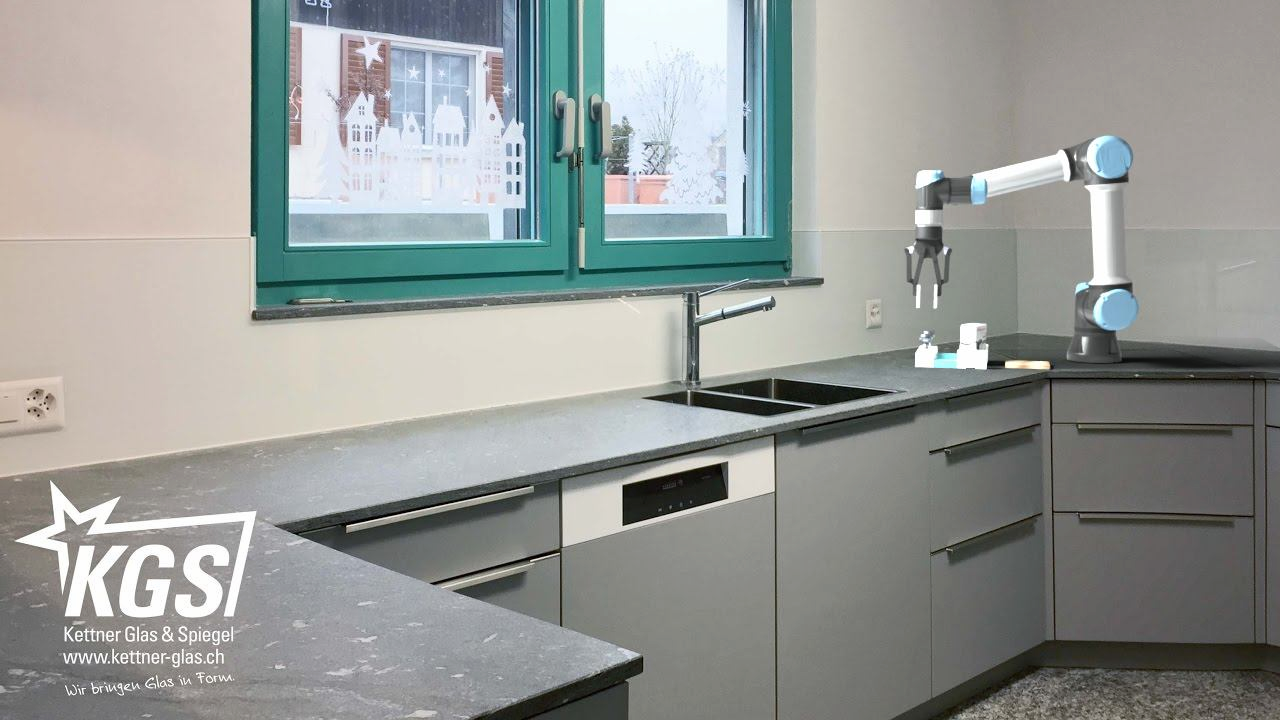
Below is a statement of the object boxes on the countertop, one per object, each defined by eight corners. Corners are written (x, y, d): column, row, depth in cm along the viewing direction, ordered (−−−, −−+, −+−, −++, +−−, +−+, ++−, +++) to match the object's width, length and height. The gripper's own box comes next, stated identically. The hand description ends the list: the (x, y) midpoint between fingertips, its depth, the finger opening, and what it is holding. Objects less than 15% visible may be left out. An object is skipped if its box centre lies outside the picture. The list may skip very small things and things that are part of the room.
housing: (987, 361, 357) (988, 344, 356) (986, 369, 339) (986, 351, 338) (920, 359, 362) (920, 342, 362) (915, 366, 344) (915, 349, 344)
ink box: (975, 366, 344) (976, 325, 343) (958, 365, 347) (959, 324, 345) (986, 363, 351) (987, 323, 349) (970, 362, 354) (971, 322, 352)
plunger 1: (934, 353, 358) (935, 330, 357) (933, 355, 355) (934, 331, 354) (922, 353, 359) (922, 330, 358) (921, 354, 356) (921, 331, 355)
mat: (1048, 365, 347) (1049, 361, 347) (1049, 369, 338) (1050, 365, 338) (1005, 363, 351) (1005, 360, 351) (1005, 367, 341) (1005, 364, 341)
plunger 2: (932, 357, 349) (932, 333, 348) (931, 359, 345) (932, 334, 345) (919, 357, 350) (920, 333, 349) (918, 358, 346) (919, 334, 346)
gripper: (960, 225, 344) (958, 307, 347) (899, 225, 349) (897, 306, 352) (959, 225, 337) (957, 309, 340) (896, 225, 342) (895, 308, 345)
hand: (926, 307), depth 346 cm, fingers open, 4 cm apart
